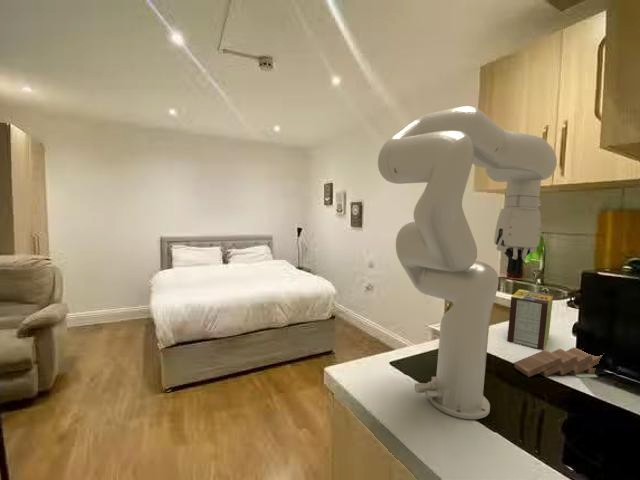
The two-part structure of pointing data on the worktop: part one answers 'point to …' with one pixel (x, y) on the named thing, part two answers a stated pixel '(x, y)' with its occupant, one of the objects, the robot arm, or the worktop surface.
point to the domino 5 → (590, 370)
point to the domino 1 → (537, 363)
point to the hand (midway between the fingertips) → (514, 273)
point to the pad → (583, 375)
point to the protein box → (530, 318)
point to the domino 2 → (566, 361)
